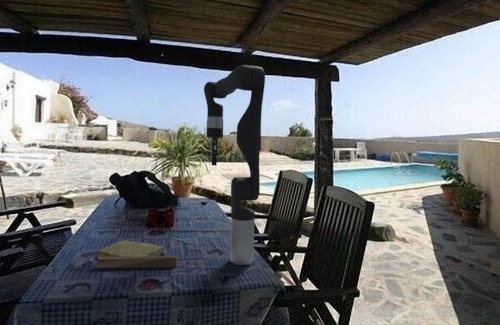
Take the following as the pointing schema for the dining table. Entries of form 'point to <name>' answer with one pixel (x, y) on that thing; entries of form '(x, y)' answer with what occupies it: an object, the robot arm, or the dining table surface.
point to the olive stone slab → (130, 249)
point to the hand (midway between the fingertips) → (214, 165)
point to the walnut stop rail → (136, 262)
